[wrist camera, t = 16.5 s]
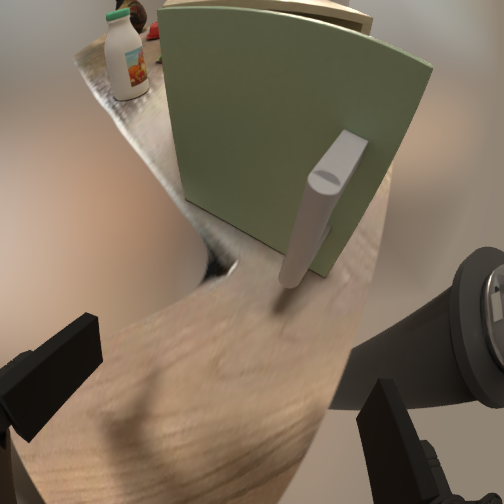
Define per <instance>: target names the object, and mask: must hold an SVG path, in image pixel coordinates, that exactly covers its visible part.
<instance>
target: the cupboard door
mask: <svg viewBox="0 0 504 504" xmlns="http://www.w3.org/2000/svg"><path fill="white" fill-rule="evenodd" d="M157 17H158V28H159V38H160V48H161V56H162V65H163V72H164V80H165V87H166V94H167V101H168V108H169V114H170V120H171V126H172V132H173V138H174V144H175V149H176V155H177V160H178V166H179V171H180V176H181V181H182V186H183V191H184V196H185V199H187V200H188V201H190V202H192V203H194V204H196V205H197V206H199V207H201V208H203V209H205V210H206V211H208V212H210V213H212V214H214V215H215V216H217V217H219V218H221V219H223V220H224V221H226V222H228V223H230V224H232V225H233V226H235V227H237V228H239V229H240V230H242V231H244V232H246V233H248V234H249V235H251V236H253V237H255V238H256V239H258V240H260V241H262V242H263V243H265V244H267V245H269V246H271V247H272V248H274V249H276V250H278V251H279V252H281V253H283V254H285V258H284V261H283V264H282V267H281V271H280V274H279V281H280V283H281V285H282V286H284V287H286V288H295V287H296V286H298V284H299V283H300V281H301V280H302V278H303V276H304V275H305V273H306V271H307V270H308V268H309V269H311V270H312V271H314V272H316V273H318V274H319V275H321V276H323V277H326V276H327V274H328V273H329V271H330V270H331V268H332V267H333V265H334V263H335V262H336V260H337V259H338V257H339V255H340V254H341V252H342V250H343V249H344V247H345V245H346V244H347V242H348V240H349V239H350V237H351V235H352V234H353V232H354V230H355V229H356V227H357V225H358V223H359V222H360V220H361V218H362V216H363V215H364V213H365V211H366V209H367V208H368V206H369V204H370V202H371V200H372V199H373V197H374V195H375V193H376V191H377V189H378V187H379V186H380V184H381V182H382V180H383V178H384V176H385V174H386V172H387V170H388V168H389V166H390V164H391V162H392V160H393V158H394V156H395V154H396V152H397V150H398V148H399V146H400V144H401V142H402V140H403V138H404V136H405V134H406V132H407V129H408V127H409V125H410V123H411V121H412V118H413V116H414V114H415V112H416V109H417V107H418V105H419V103H420V100H421V98H422V95H423V93H424V91H425V88H426V86H427V83H428V81H429V78H430V76H431V73H432V70H433V65H432V64H430V63H428V62H426V61H424V60H422V59H420V58H419V57H416V56H415V55H412V54H410V53H408V52H406V51H404V50H402V49H400V48H397V47H395V46H393V45H390V44H388V43H386V42H383V41H381V40H378V39H376V38H373V37H370V36H368V35H365V34H362V33H359V32H356V31H353V30H350V29H347V28H344V27H341V26H337V25H334V24H330V23H327V22H323V21H319V20H315V19H311V18H306V17H302V16H297V15H292V14H286V13H280V12H274V11H267V10H260V9H251V8H240V7H225V6H177V7H165V8H161V9H158V10H157Z"/></svg>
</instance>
